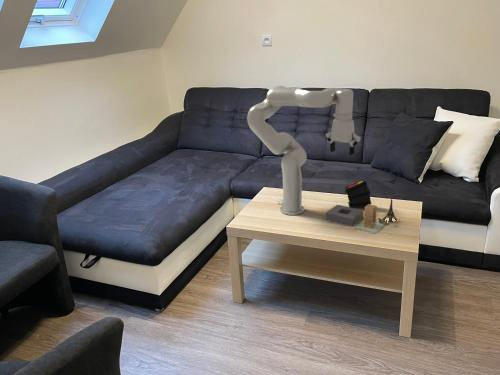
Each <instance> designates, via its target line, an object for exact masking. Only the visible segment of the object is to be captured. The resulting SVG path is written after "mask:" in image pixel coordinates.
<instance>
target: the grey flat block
mask: <svg viewBox="0 0 500 375" xmlns="http://www.w3.org/2000/svg"><path fill="white" fill-rule="evenodd" d="M362 219H364V210H363V209H360V208H350V207H349V206H346V205H341V204H335V206H333V207H331V208H330V209H329V210H327V211H326V212H325V221H329V222H332V223H336V224H341V225H345V226H349V227H353V226H355V225H356V224H358V223H359V221H361V220H362Z"/></svg>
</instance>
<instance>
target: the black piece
mask: <svg viewBox="0 0 500 375" xmlns="http://www.w3.org/2000/svg"><path fill="white" fill-rule="evenodd" d="M344 190H345V191H344V192H345V194H346V195H347V199H348V202H347V203H348V207H350V208H355V209H365V206H367V205H368V204H370V205H372V200H371V196H370V194H371V191H370V189H369V186H368V183H367V181H366V180H365V178H364V179H361V180H359V181H356V182H354V183H352V184H349V185H347V186H345V187H344Z"/></svg>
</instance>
